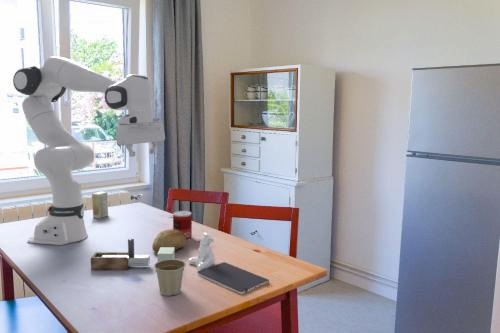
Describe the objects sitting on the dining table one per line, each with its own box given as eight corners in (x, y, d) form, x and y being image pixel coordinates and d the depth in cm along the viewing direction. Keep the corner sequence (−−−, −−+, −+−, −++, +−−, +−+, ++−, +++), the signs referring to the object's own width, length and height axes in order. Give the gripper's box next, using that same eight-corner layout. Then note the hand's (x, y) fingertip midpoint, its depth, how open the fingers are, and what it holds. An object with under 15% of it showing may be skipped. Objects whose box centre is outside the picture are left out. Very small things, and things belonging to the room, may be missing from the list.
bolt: (101, 266, 146) (100, 241, 145) (103, 263, 149) (102, 238, 148) (148, 266, 147) (147, 241, 146) (149, 263, 150) (149, 238, 148)
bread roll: (193, 248, 169) (193, 228, 168) (162, 258, 158) (162, 237, 157) (177, 242, 175) (177, 223, 174) (147, 251, 164) (146, 231, 163)
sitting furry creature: (187, 263, 153) (186, 231, 151) (208, 258, 158) (208, 227, 156) (198, 272, 145) (198, 238, 144) (220, 267, 150) (221, 234, 148)
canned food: (193, 235, 184) (193, 211, 182) (189, 241, 176) (189, 216, 174) (176, 235, 185) (176, 210, 183) (171, 240, 177) (170, 215, 175)
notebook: (268, 284, 138) (224, 266, 152) (269, 279, 138) (224, 261, 152) (241, 296, 129) (196, 276, 143) (241, 291, 129) (196, 271, 143)
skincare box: (101, 214, 215) (100, 190, 213) (108, 215, 213) (107, 191, 211) (92, 217, 209) (91, 193, 207) (99, 218, 207) (98, 194, 205)
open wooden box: (91, 270, 145) (90, 257, 144) (96, 264, 150) (95, 252, 150) (126, 270, 146) (126, 257, 145) (130, 264, 151) (130, 252, 150)
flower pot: (156, 285, 134) (156, 259, 133) (186, 284, 135) (186, 258, 134) (152, 298, 125) (151, 270, 124) (184, 298, 126) (184, 270, 125)
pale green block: (157, 271, 145) (157, 253, 145) (160, 263, 152) (160, 247, 151) (172, 271, 146) (172, 253, 145) (174, 263, 152) (174, 247, 151)
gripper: (157, 117, 170) (158, 151, 172) (112, 119, 154) (115, 157, 156) (167, 117, 166) (169, 152, 168) (123, 119, 150) (125, 158, 152)
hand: (142, 155), depth 162 cm, fingers open, 8 cm apart
